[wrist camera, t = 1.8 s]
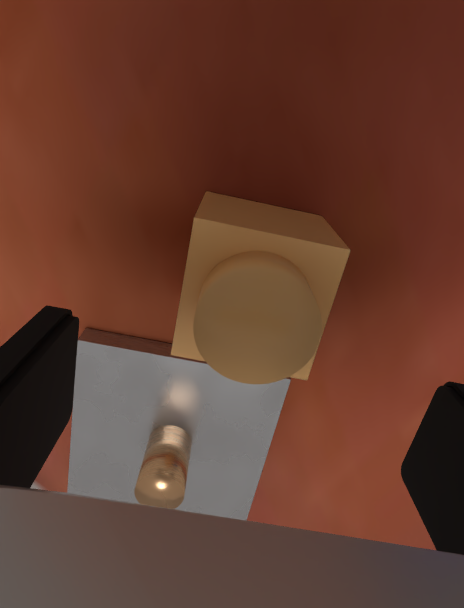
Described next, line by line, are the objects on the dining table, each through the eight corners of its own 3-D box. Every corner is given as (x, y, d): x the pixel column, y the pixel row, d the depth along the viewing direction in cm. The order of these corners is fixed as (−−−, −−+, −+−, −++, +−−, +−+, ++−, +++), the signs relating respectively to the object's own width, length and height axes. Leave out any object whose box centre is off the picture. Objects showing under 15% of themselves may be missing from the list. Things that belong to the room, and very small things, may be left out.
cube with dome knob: (206, 191, 17) (187, 231, 11) (321, 215, 18) (366, 269, 12) (186, 299, 19) (162, 384, 13) (291, 319, 20) (315, 412, 14)
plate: (85, 327, 20) (47, 380, 16) (288, 365, 21) (299, 425, 17) (75, 479, 24) (42, 551, 20) (244, 506, 25) (245, 581, 21)
